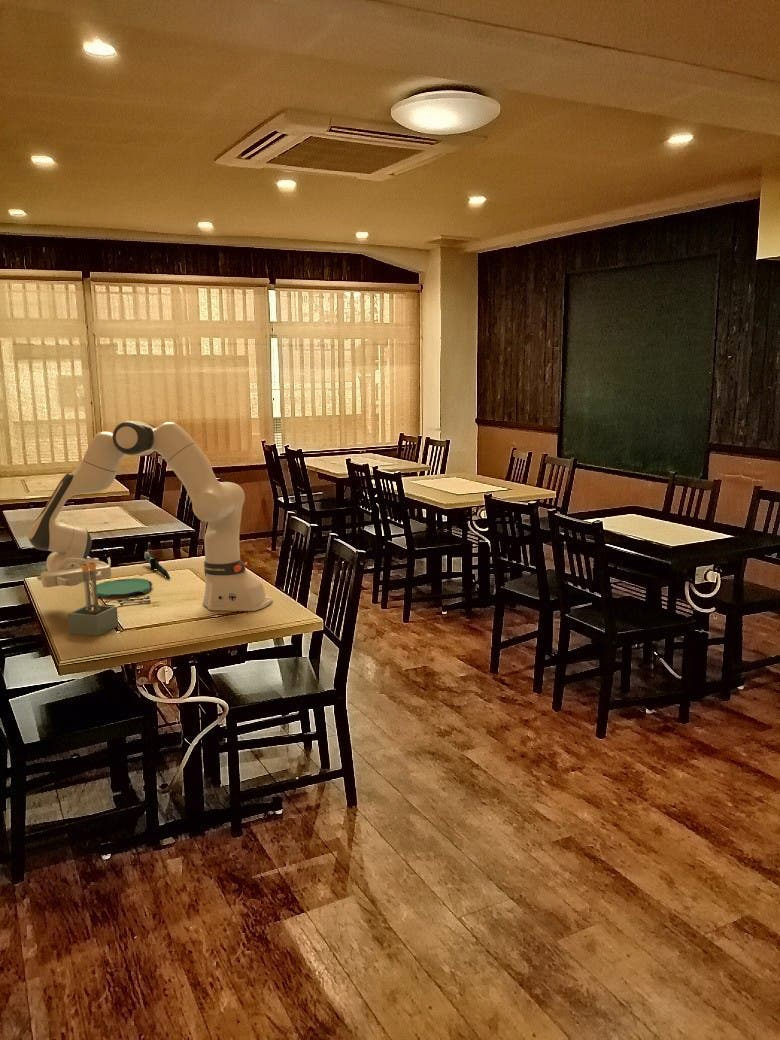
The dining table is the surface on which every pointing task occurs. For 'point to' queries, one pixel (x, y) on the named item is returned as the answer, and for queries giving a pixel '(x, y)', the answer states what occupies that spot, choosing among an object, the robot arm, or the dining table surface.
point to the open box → (93, 621)
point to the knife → (155, 564)
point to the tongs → (85, 569)
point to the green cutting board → (124, 588)
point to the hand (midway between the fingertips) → (83, 580)
